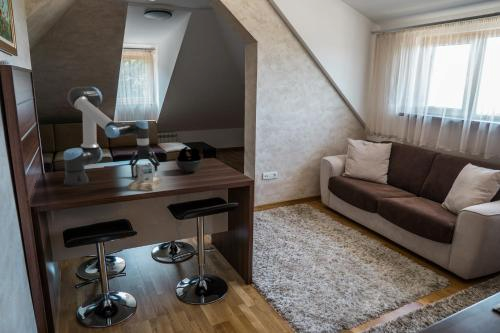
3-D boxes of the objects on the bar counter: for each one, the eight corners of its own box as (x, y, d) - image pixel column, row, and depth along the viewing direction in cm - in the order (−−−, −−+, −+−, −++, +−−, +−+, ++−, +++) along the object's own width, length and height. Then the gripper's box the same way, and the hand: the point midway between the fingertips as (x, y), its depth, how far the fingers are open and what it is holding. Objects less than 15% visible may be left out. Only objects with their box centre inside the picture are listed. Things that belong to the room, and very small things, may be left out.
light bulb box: (153, 181, 225) (152, 165, 223) (143, 183, 221) (142, 167, 219) (146, 177, 233) (145, 162, 231) (137, 179, 229) (136, 164, 226)
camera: (131, 180, 241) (130, 166, 239) (131, 176, 251) (130, 163, 249) (152, 178, 246) (151, 165, 244) (151, 175, 256) (150, 162, 254)
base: (128, 189, 220) (128, 183, 219) (139, 182, 238) (139, 176, 237) (152, 190, 219) (152, 184, 218) (161, 182, 236) (161, 177, 235)
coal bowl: (199, 175, 257) (199, 150, 252) (173, 174, 257) (172, 150, 252) (203, 168, 276) (203, 146, 272) (179, 168, 276) (178, 145, 272)
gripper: (122, 144, 219) (124, 176, 224) (159, 145, 217) (161, 177, 222) (127, 142, 226) (129, 173, 231) (163, 143, 224) (165, 174, 229)
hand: (145, 175), depth 227 cm, fingers open, 13 cm apart
